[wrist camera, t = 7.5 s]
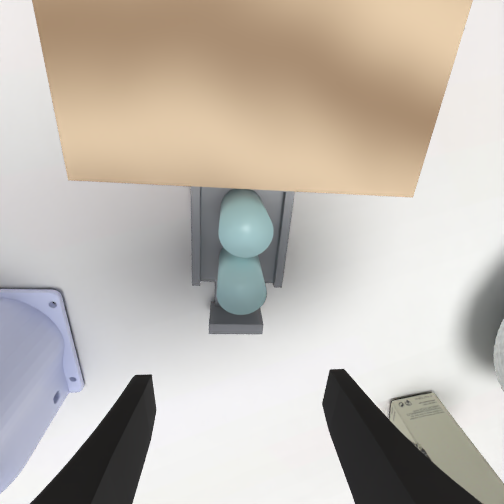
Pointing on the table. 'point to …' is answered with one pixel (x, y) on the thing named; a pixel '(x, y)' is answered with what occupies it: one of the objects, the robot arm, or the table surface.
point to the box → (446, 445)
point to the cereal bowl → (499, 355)
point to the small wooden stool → (250, 90)
